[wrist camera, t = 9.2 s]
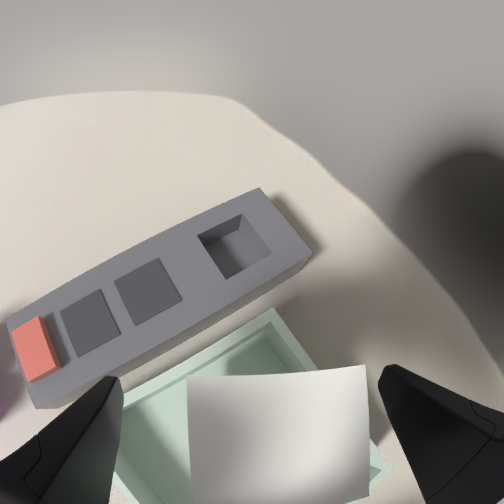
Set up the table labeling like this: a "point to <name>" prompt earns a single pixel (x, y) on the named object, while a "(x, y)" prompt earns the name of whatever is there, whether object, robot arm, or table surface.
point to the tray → (175, 411)
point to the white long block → (279, 437)
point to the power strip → (153, 297)
